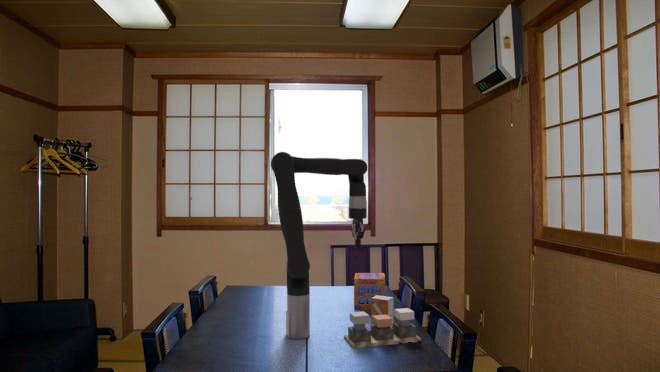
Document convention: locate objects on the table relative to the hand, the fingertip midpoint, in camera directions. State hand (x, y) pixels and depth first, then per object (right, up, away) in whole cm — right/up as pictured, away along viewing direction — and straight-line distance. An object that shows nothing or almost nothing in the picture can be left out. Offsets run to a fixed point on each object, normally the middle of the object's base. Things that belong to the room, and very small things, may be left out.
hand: (357, 248), depth 193 cm
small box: (+11, -35, +6) cm, 37 cm away
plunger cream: (+18, -31, -8) cm, 37 cm away
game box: (+9, -35, +42) cm, 55 cm away
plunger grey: (0, -31, -12) cm, 33 cm away
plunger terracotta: (+9, -33, -10) cm, 36 cm away
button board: (+9, -35, -10) cm, 37 cm away
